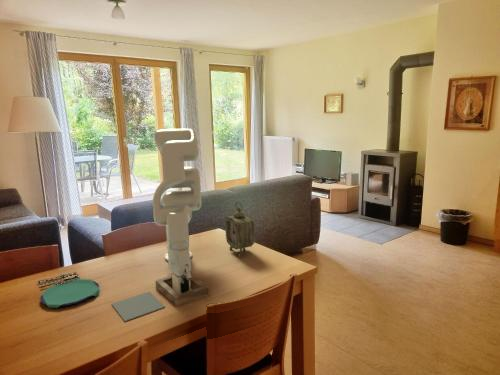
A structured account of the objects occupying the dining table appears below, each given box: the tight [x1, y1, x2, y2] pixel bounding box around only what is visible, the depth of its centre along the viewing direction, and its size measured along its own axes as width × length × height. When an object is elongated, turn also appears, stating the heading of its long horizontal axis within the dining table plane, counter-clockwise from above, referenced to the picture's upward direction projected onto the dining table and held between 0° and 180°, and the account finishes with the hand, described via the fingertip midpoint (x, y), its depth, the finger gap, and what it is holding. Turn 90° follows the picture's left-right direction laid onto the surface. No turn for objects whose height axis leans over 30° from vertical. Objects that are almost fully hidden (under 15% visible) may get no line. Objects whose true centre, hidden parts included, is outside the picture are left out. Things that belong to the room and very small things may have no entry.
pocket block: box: [155, 274, 210, 307], centre depth 136 cm, size 18×13×3 cm
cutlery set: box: [37, 271, 101, 309], centre depth 138 cm, size 20×30×2 cm, turn 39°
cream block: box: [171, 272, 192, 294], centre depth 135 cm, size 5×5×7 cm
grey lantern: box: [224, 201, 256, 258], centre depth 170 cm, size 14×9×25 cm, turn 27°
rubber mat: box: [111, 291, 166, 323], centre depth 126 cm, size 14×14×1 cm
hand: (181, 288), depth 136 cm, fingers closed on cream block, 5 cm apart
